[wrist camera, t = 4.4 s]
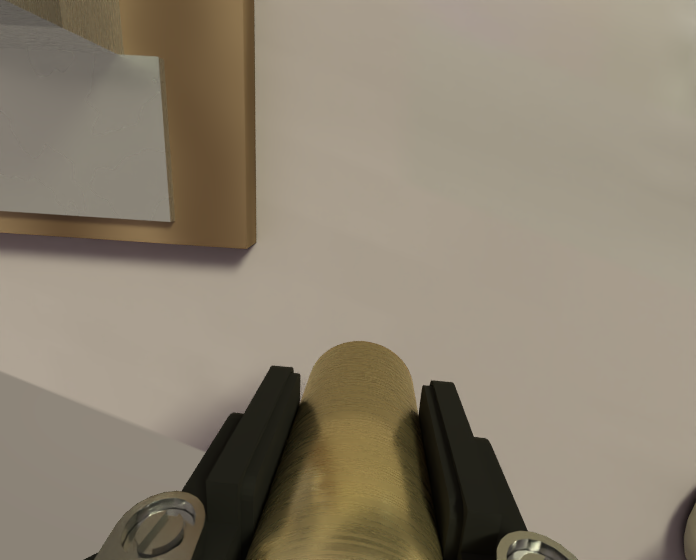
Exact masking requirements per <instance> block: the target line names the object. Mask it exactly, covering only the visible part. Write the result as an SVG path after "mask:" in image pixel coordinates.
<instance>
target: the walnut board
mask: <svg viewBox="0 0 696 560" xmlns="http://www.w3.org/2000/svg"><path fill="white" fill-rule="evenodd" d="M119 6H120V17H121V27H122V38H123V48H124V55H139V56H156V57H160V58H162V59H163V60H164V67H165V81H166V96H167V110H168V125H169V139H170V153H171V168H172V182H173V197H174V211H175V221H172V222H163V221H148V220H132V219H117V218H102V217H87V216H71V215H56V214H41V213H25V212H10V211H0V233H15V234H30V235H45V236H60V237H75V238H90V239H105V240H120V241H135V242H150V243H165V244H180V245H195V246H210V247H225V248H240V249H247V248H249V247H250V246H252V245H253V244H255V243H256V154H255V42H254V0H119Z"/></svg>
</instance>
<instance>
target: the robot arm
mask: <svg viewBox="0 0 696 560" xmlns="http://www.w3.org/2000/svg"><path fill="white" fill-rule="evenodd" d="M299 405H300V374H298V373H294V371H293V367H282V366H271V367H270V369H269V371H268V373H267V374H266V376H265V378H264V380H263V381H262V383H261V385H260V387H259V388H258V390H257V392H256V394H255V395H254V397H253V399H252V401H251V402H250V404H249V406H248V408H247V409H246V411H245V413H244V414H242V413H232V414H230V416H229V417H228V418H227V420H226V421H225V423H224V424H223V426H222V428H221V429H220V431H219V432H218V434H217V436H216V437H215V439H214V440H213V442H212V444H211V445H210V447H209V448H208V450H207V451H206V453H205V455H204V456H203V458H202V459H201V461H200V463H199V464H198V466H197V468H196V469H195V471H194V472H193V474H192V475H191V477H190V479H189V480H188V482H187V483H186V485H185V486H184V488H183V490H182V491H172V492H163V493H160V494H157V495H154V496H151V497H149V498H147V499H145V500H143V501H141V502H140V503H137V504H136V505H135V506H134V507H132V508H131V509H130V510H129V511H127V512H126V513H125V514H124V515H123V517H122V518H121V519H120V520H119V522H118V523H117V524H116V525H115V527H114V529H113V530H112V532H111V533H110V535H109V537H108V538H107V540H106V541H105V543H104V545H103V546H102V548H101V549H100V551H99V552H98V553H96V554H94V555H92V556H91V557H88V558H86V559H84V560H246V557H247V554H248V551H249V548H250V545H251V542H252V539H253V537H254V534H255V531H256V528H257V525H258V523H259V520H260V517H261V514H262V511H263V508H264V505H265V503H266V500H267V497H268V494H269V491H270V488H271V485H272V482H273V480H274V477H275V474H276V471H277V468H278V465H279V462H280V460H281V457H282V454H283V451H284V448H285V445H286V442H287V439H288V437H289V434H290V431H291V428H292V425H293V422H294V419H295V417H296V414H297V411H298V408H299ZM418 417H419V422H420V428H421V434H422V440H423V446H424V451H425V457H426V463H427V469H428V475H429V481H430V486H431V492H432V498H433V504H434V510H435V516H436V521H437V527H438V533H439V539H440V545H441V551H442V556H443V560H578V559H577V558H576V557H575V556H574V555H573V554H572V553H571V552H569V551H568V550H567V549H566V548H564V547H563V546H562V545H561V544H559V543H557V542H555V541H554V540H552V539H550V538H548V537H546V536H543V535H540V534H537V533H534V532H529V531H528V530H527V528H526V526H525V523H524V521H523V519H522V516H521V514H520V512H519V509H518V507H517V505H516V502H515V500H514V498H513V495H512V493H511V491H510V488H509V486H508V483H507V481H506V479H505V476H504V474H503V472H502V469H501V467H500V465H499V462H498V460H497V458H496V455H495V453H494V451H493V448H492V446H491V444H490V442H489V440H488V439H486V438H478V437H474V436H473V433H472V431H471V428H470V425H469V423H468V420H467V417H466V415H465V412H464V409H463V406H462V404H461V401H460V398H459V396H458V393H457V390H456V388H455V385H454V383H453V382H443V381H431V382H430V386H426V385H423V387H422V392H421V400H420V408H419V416H418ZM684 551H685V556H686V559H687V560H696V503H695V505H694V507H693V509H692V511H691V513H690V515H689V518H688V520H687V525H686V530H685V534H684Z"/></svg>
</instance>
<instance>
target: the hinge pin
mask: <svg viewBox="0 0 696 560" xmlns="http://www.w3.org/2000/svg"><path fill="white" fill-rule="evenodd" d="M246 560H443V556H442V551H441V545H440V539H439V533H438V527H437V521H436V516H435V510H434V504H433V498H432V492H431V486H430V481H429V475H428V469H427V463H426V457H425V451H424V446H423V440H422V434H421V428H420V422H419V417H418V410H417V404H416V399H415V393H414V387H413V381H412V378H411V375H410V372H409V370H408V368H407V367H406V365H405V363H404V362H403V361H402V360H401V359H400V358H399V357H398V356H397V355H396V354H395V353H393V352H392V351H391V350H389V349H387V348H386V347H383V346H381V345H379V344H375V343H372V342H365V341H353V342H347V343H343V344H340V345H337V346H335V347H333V348H331V349H330V350H328V351H327V352H325V353H324V354H323V355H322V356H321V357H320V358H319V359H318V360H317V362H316V363H315V365H314V366H313V369H312V371H311V373H310V376H309V379H308V382H307V385H306V388H305V391H304V393H303V396H302V399H301V402H300V405H299V408H298V411H297V414H296V417H295V419H294V422H293V425H292V428H291V431H290V434H289V437H288V439H287V442H286V445H285V448H284V451H283V454H282V457H281V460H280V462H279V465H278V468H277V471H276V474H275V477H274V480H273V482H272V485H271V488H270V491H269V494H268V497H267V500H266V503H265V505H264V508H263V511H262V514H261V517H260V520H259V523H258V525H257V528H256V531H255V534H254V537H253V539H252V542H251V545H250V548H249V551H248V554H247V557H246Z"/></svg>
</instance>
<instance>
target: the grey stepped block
mask: <svg viewBox="0 0 696 560" xmlns="http://www.w3.org/2000/svg"><path fill="white" fill-rule="evenodd" d="M0 211H10V212H25V213H41V214H56V215H71V216H87V217H102V218H117V219H132V220H148V221H163V222H172V221H175V211H174V197H173V182H172V168H171V153H170V139H169V125H168V110H167V96H166V81H165V67H164V60H163V59H162V58H160V57H156V56H139V55H124V48H123V38H122V27H121V17H120V6H119V0H0Z"/></svg>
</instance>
